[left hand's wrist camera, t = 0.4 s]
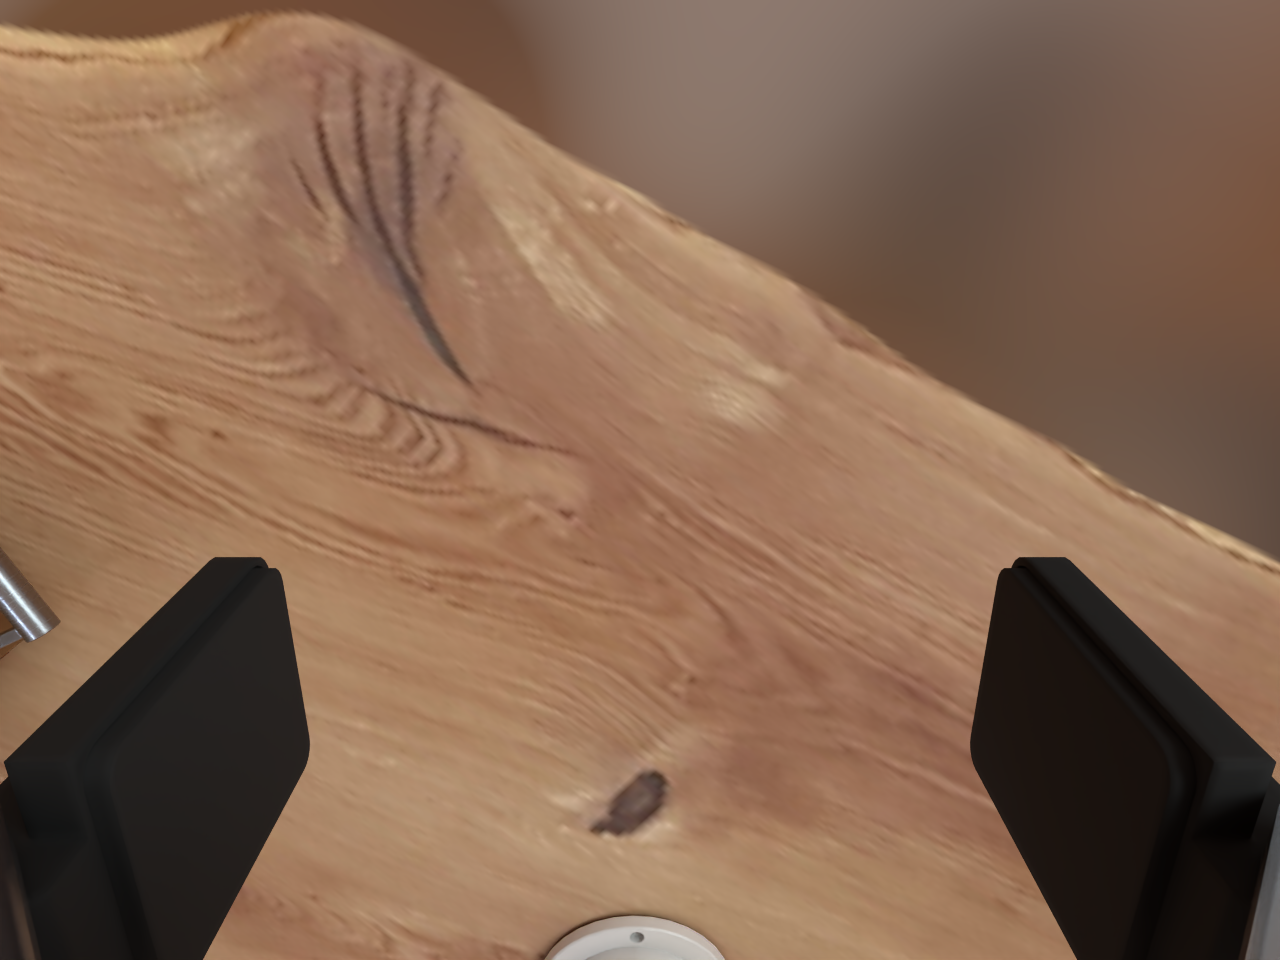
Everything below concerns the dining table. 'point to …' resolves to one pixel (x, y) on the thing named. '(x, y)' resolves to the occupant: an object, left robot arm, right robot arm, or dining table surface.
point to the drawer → (20, 608)
